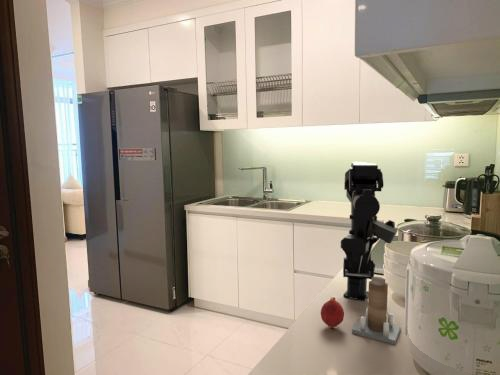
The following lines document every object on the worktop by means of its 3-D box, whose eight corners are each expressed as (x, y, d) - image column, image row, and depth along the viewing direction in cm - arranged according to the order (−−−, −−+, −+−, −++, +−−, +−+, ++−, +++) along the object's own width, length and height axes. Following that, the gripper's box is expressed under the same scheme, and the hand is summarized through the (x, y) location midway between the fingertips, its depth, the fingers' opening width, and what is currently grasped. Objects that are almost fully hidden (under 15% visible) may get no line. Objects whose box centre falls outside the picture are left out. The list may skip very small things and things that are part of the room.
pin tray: (360, 319, 95) (360, 305, 94) (400, 329, 90) (401, 314, 89) (351, 332, 88) (352, 317, 87) (394, 344, 83) (395, 328, 82)
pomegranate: (342, 335, 87) (343, 304, 86) (318, 331, 89) (319, 300, 88) (345, 324, 92) (345, 294, 91) (322, 320, 94) (323, 291, 93)
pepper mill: (369, 321, 92) (370, 274, 90) (387, 325, 90) (389, 277, 88) (365, 328, 88) (367, 280, 87) (384, 333, 86) (386, 283, 84)
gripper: (388, 220, 82) (385, 285, 84) (401, 208, 98) (399, 263, 100) (340, 215, 88) (339, 276, 90) (360, 205, 104) (358, 257, 106)
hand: (361, 268), depth 96 cm, fingers open, 9 cm apart
